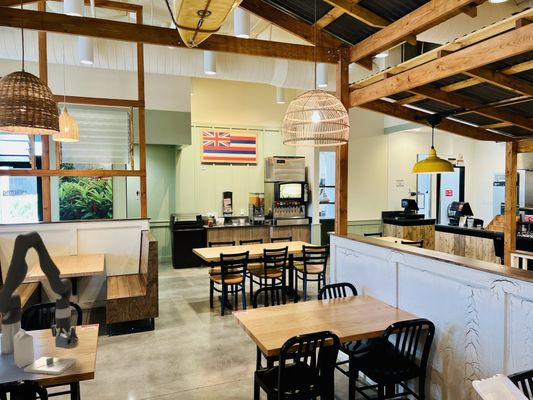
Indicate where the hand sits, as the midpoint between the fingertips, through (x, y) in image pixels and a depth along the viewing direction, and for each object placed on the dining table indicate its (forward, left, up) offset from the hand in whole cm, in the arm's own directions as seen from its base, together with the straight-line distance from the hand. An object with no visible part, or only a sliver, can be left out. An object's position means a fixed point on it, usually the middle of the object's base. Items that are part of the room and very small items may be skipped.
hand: (64, 343), depth 215 cm
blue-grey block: (0, 0, -1) cm, 1 cm away
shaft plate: (0, -12, -7) cm, 14 cm away
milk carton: (-16, -11, -7) cm, 21 cm away
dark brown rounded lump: (-10, +17, -7) cm, 21 cm away
